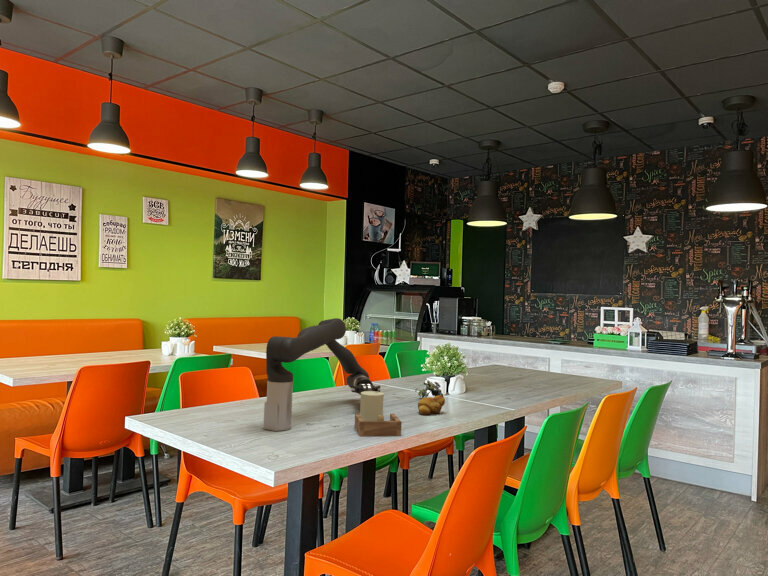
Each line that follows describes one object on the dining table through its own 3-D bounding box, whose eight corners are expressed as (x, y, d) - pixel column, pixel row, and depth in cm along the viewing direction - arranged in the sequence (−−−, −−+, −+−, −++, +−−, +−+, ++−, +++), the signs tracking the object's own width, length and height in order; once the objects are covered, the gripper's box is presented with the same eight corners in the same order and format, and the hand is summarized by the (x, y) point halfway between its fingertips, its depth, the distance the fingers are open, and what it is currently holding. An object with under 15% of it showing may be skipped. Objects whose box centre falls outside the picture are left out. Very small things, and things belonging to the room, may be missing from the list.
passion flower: (435, 410, 270) (449, 392, 266) (420, 408, 263) (433, 390, 259) (425, 394, 278) (438, 377, 274) (409, 392, 271) (422, 374, 267)
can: (387, 422, 218) (388, 391, 218) (374, 426, 210) (376, 394, 210) (367, 418, 222) (368, 389, 223) (354, 422, 214) (355, 391, 215)
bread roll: (426, 417, 230) (427, 398, 230) (409, 413, 237) (410, 394, 237) (446, 413, 239) (447, 395, 239) (429, 409, 246) (430, 391, 246)
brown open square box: (401, 435, 197) (401, 416, 197) (359, 436, 194) (360, 416, 194) (393, 426, 210) (394, 408, 210) (354, 427, 208) (355, 408, 208)
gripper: (348, 376, 241) (353, 383, 223) (378, 376, 243) (385, 383, 226) (347, 393, 241) (352, 402, 223) (377, 393, 243) (384, 402, 226)
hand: (369, 392), depth 225 cm, fingers closed
